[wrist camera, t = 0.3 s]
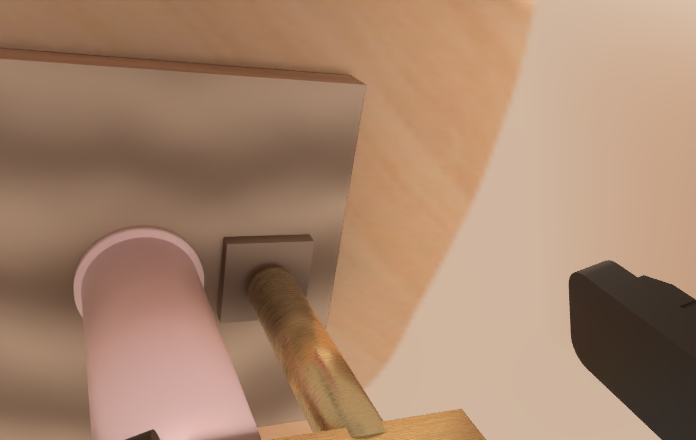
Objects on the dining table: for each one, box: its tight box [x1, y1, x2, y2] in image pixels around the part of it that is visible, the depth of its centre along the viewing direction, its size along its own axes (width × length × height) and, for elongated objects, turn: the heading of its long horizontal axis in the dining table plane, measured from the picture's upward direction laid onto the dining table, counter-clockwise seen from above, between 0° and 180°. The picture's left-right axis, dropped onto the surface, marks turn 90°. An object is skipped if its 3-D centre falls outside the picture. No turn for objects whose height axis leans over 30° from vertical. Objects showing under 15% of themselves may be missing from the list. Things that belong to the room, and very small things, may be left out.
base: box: [0, 48, 366, 440], centre depth 31 cm, size 20×20×3 cm
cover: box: [73, 225, 261, 440], centre depth 26 cm, size 6×6×12 cm
